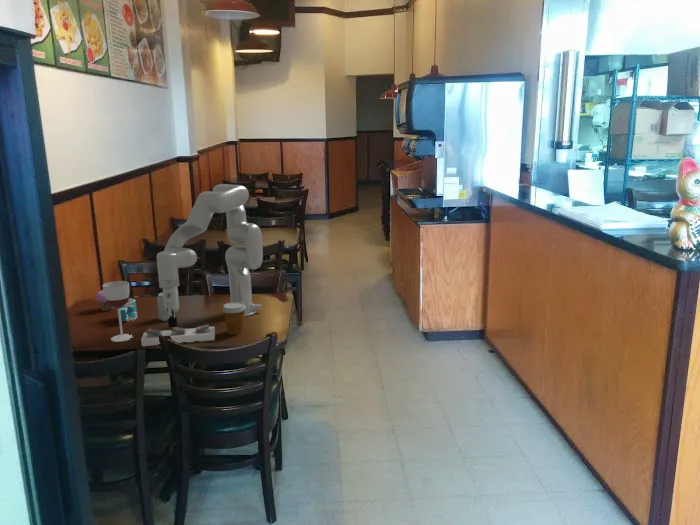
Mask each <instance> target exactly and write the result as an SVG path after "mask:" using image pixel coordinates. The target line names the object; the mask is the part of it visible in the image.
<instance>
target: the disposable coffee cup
mask: <svg viewBox="0 0 700 525" xmlns="http://www.w3.org/2000/svg"><path fill="white" fill-rule="evenodd" d="M245 308H246V306H245V305H244V303H242V302H231V301H230V302H227V303H225V304H223V306H222V311H223V314H224V319H225V325H226V329H227V334H228V335H231V336H237V335H238V334H239V335H241V334H243V333H244V329H245V328H244V327H245V317H244V315H245Z"/></svg>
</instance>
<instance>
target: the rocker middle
mask: <svg viewBox="0 0 700 525" xmlns="http://www.w3.org/2000/svg"><path fill="white" fill-rule="evenodd" d="M185 329H186V327H178V326H177V327H172V328H171V330H172V331H171V332H177V333H184V332H185Z"/></svg>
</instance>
